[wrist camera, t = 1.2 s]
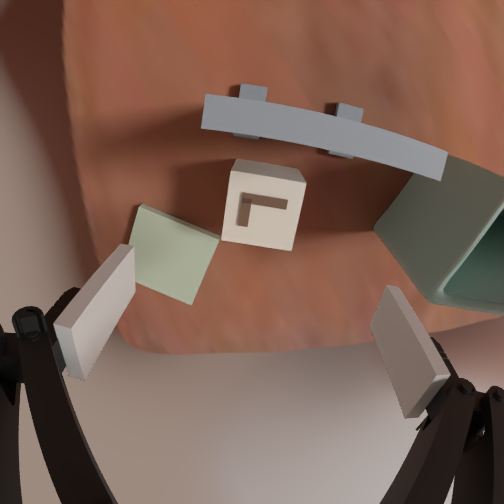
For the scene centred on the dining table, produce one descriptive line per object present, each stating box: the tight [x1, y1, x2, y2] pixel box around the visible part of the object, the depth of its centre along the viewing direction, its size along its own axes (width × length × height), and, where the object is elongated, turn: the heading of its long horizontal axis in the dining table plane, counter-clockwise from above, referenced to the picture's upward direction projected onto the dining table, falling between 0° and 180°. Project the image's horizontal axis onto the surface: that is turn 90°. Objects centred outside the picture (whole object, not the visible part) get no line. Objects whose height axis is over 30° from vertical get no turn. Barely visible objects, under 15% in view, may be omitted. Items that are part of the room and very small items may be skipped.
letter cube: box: [221, 159, 307, 251], centre depth 28 cm, size 6×6×6 cm
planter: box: [373, 154, 504, 315], centre depth 21 cm, size 16×8×20 cm, turn 104°
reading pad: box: [128, 204, 221, 305], centre depth 34 cm, size 9×9×1 cm
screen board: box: [201, 84, 448, 181], centre depth 20 cm, size 12×5×16 cm, turn 81°
